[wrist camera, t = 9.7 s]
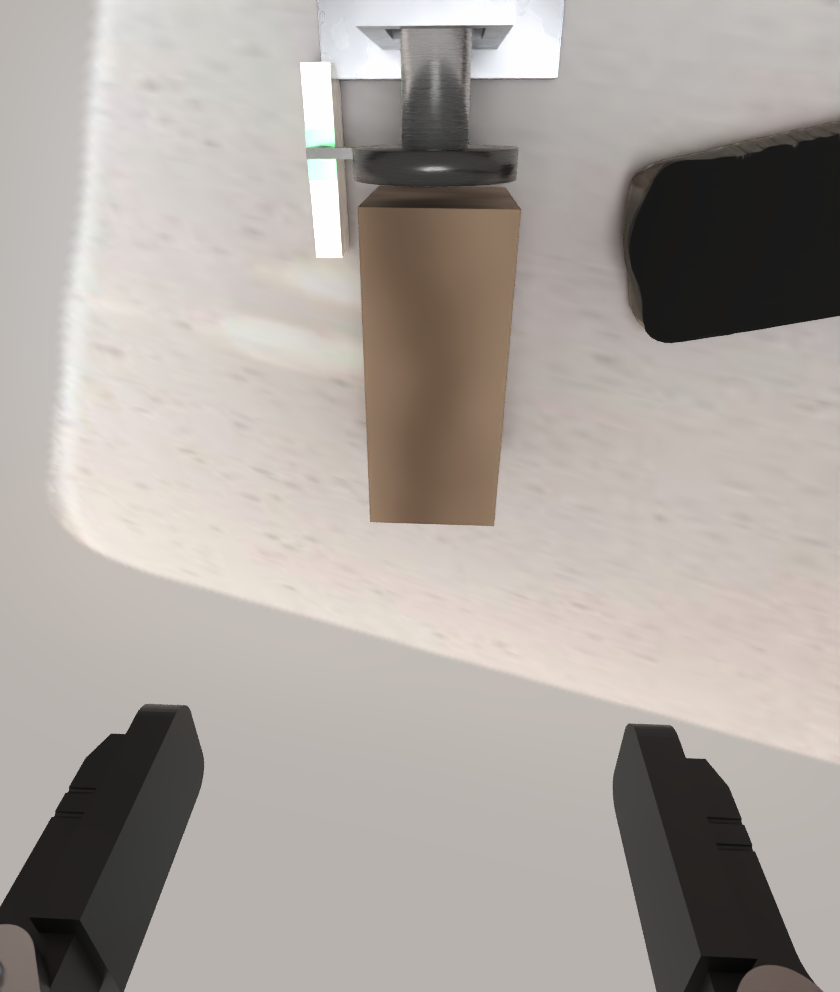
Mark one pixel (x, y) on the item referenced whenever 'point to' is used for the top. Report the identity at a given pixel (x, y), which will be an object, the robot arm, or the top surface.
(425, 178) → the plunger
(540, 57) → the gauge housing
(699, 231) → the black curved shell
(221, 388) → the top surface
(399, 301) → the walnut block
